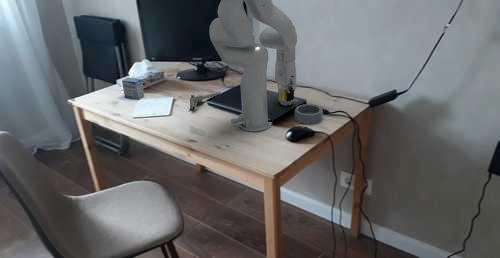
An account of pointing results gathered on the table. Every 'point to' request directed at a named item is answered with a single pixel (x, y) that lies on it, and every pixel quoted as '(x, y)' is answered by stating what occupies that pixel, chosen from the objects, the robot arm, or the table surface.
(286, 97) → the pill bottle
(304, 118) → the socket cup
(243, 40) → the robot arm
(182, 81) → the table surface
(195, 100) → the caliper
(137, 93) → the medicine box
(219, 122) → the table surface
